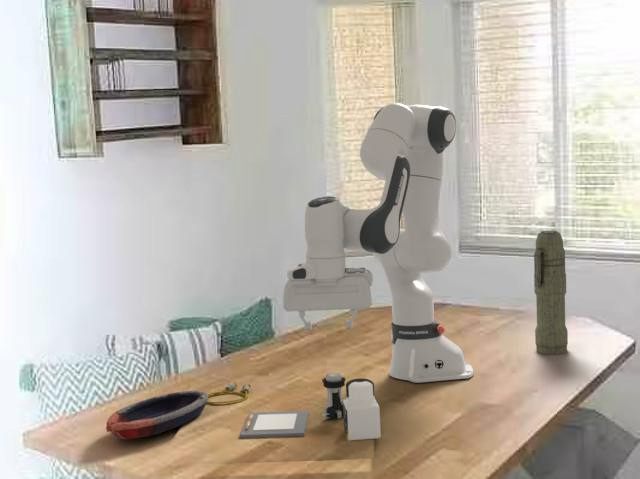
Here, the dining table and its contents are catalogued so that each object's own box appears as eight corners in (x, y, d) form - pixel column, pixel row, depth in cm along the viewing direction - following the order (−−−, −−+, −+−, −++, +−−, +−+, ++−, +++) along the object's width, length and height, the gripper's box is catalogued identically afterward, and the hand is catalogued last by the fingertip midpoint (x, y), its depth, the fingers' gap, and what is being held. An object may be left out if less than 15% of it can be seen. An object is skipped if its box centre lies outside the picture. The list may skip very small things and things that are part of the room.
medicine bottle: (344, 430, 197) (341, 377, 196) (376, 428, 197) (373, 375, 196) (347, 441, 190) (345, 386, 188) (381, 438, 190) (378, 383, 189)
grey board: (308, 413, 210) (308, 407, 210) (304, 435, 195) (303, 429, 194) (249, 415, 211) (249, 409, 211) (240, 438, 195) (239, 431, 195)
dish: (226, 411, 216) (225, 391, 216) (130, 450, 191) (129, 427, 191) (180, 403, 225) (179, 383, 225) (83, 439, 200) (81, 417, 200)
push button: (330, 423, 202) (328, 380, 201) (315, 419, 206) (312, 376, 205) (351, 416, 206) (349, 374, 205) (336, 412, 210) (334, 370, 209)
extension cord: (268, 394, 230) (268, 386, 230) (223, 409, 219) (222, 401, 218) (236, 387, 238) (236, 380, 238) (191, 402, 227) (190, 394, 227)
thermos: (576, 350, 258) (574, 229, 254) (554, 359, 249) (551, 234, 246) (549, 346, 264) (546, 228, 260) (527, 354, 256) (524, 233, 252)
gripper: (371, 265, 205) (374, 324, 206) (283, 268, 206) (286, 327, 208) (372, 269, 199) (374, 330, 200) (280, 272, 200) (283, 333, 201)
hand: (328, 329), depth 204 cm, fingers open, 8 cm apart
